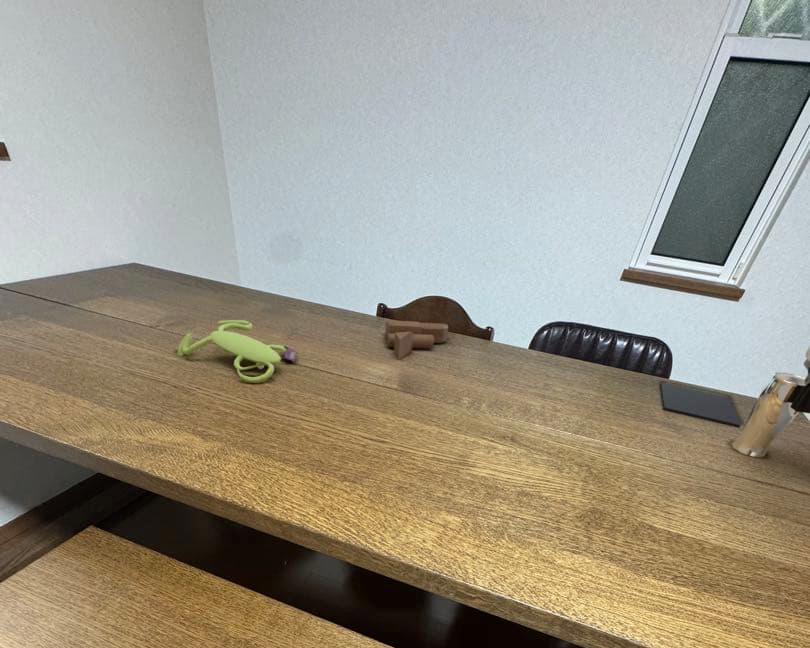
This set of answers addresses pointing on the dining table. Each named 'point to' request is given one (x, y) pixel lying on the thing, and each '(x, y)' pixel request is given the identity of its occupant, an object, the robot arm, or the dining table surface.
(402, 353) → the wooden block set
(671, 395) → the mat
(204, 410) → the dining table surface
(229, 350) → the figurine
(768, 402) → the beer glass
